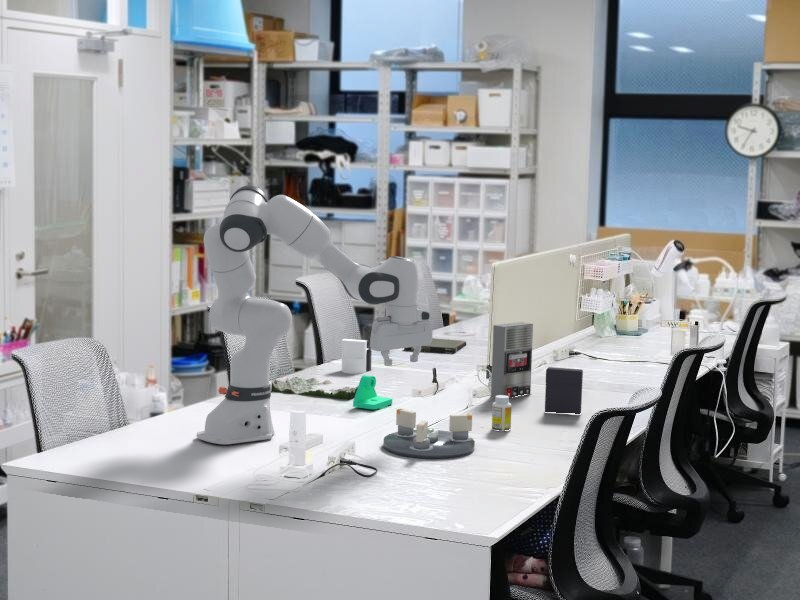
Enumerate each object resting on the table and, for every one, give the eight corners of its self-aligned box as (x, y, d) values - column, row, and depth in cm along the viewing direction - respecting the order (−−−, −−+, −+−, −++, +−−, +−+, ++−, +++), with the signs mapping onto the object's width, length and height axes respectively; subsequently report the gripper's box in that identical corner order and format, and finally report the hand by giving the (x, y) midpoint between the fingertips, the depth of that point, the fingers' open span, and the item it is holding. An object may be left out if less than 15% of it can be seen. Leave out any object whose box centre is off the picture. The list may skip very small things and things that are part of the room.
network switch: (402, 357, 469) (402, 345, 468) (411, 348, 492) (411, 336, 491) (460, 360, 465) (460, 348, 464) (467, 351, 488) (467, 339, 487)
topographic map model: (320, 377, 425) (320, 363, 424) (394, 385, 413) (395, 371, 413) (270, 394, 392) (271, 379, 392) (349, 403, 381) (350, 388, 380)
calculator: (581, 416, 367) (583, 369, 365) (579, 419, 363) (581, 371, 361) (546, 413, 370) (548, 366, 368) (544, 416, 366) (546, 368, 364)
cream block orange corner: (418, 434, 329) (419, 411, 328) (407, 436, 325) (408, 413, 325) (403, 430, 333) (404, 407, 332) (392, 432, 330) (393, 410, 329)
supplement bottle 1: (366, 375, 426) (366, 342, 424) (349, 373, 429) (349, 341, 427) (374, 372, 432) (374, 340, 431) (357, 370, 435) (358, 338, 433)
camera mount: (373, 413, 365) (374, 380, 364) (353, 410, 369) (353, 377, 368) (393, 406, 376) (394, 374, 374) (372, 403, 379) (373, 372, 378)
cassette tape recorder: (503, 403, 384) (506, 327, 381) (490, 400, 389) (492, 325, 386) (532, 398, 393) (535, 324, 390) (518, 395, 398) (521, 321, 395)
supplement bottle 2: (509, 428, 348) (511, 394, 347) (511, 433, 342) (512, 398, 341) (490, 428, 348) (492, 394, 347) (492, 432, 342) (493, 398, 341)
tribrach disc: (431, 464, 306) (431, 444, 305) (364, 446, 323) (364, 427, 322) (493, 448, 323) (493, 430, 323) (426, 432, 341) (427, 415, 340)
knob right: (452, 440, 322) (453, 417, 322) (447, 436, 327) (448, 413, 326) (473, 439, 324) (473, 416, 323) (468, 435, 328) (468, 413, 327)
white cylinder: (338, 374, 425) (338, 341, 423) (346, 369, 434) (347, 337, 432) (361, 376, 422) (361, 343, 421) (369, 371, 431) (370, 339, 429)
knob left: (416, 443, 318) (416, 420, 317) (432, 444, 317) (432, 421, 316) (410, 448, 312) (411, 425, 311) (426, 450, 311) (427, 426, 310)
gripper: (380, 319, 318) (379, 369, 319) (436, 312, 331) (435, 361, 333) (365, 316, 322) (364, 366, 324) (421, 310, 335) (420, 358, 337)
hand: (401, 363), depth 328 cm, fingers open, 8 cm apart
